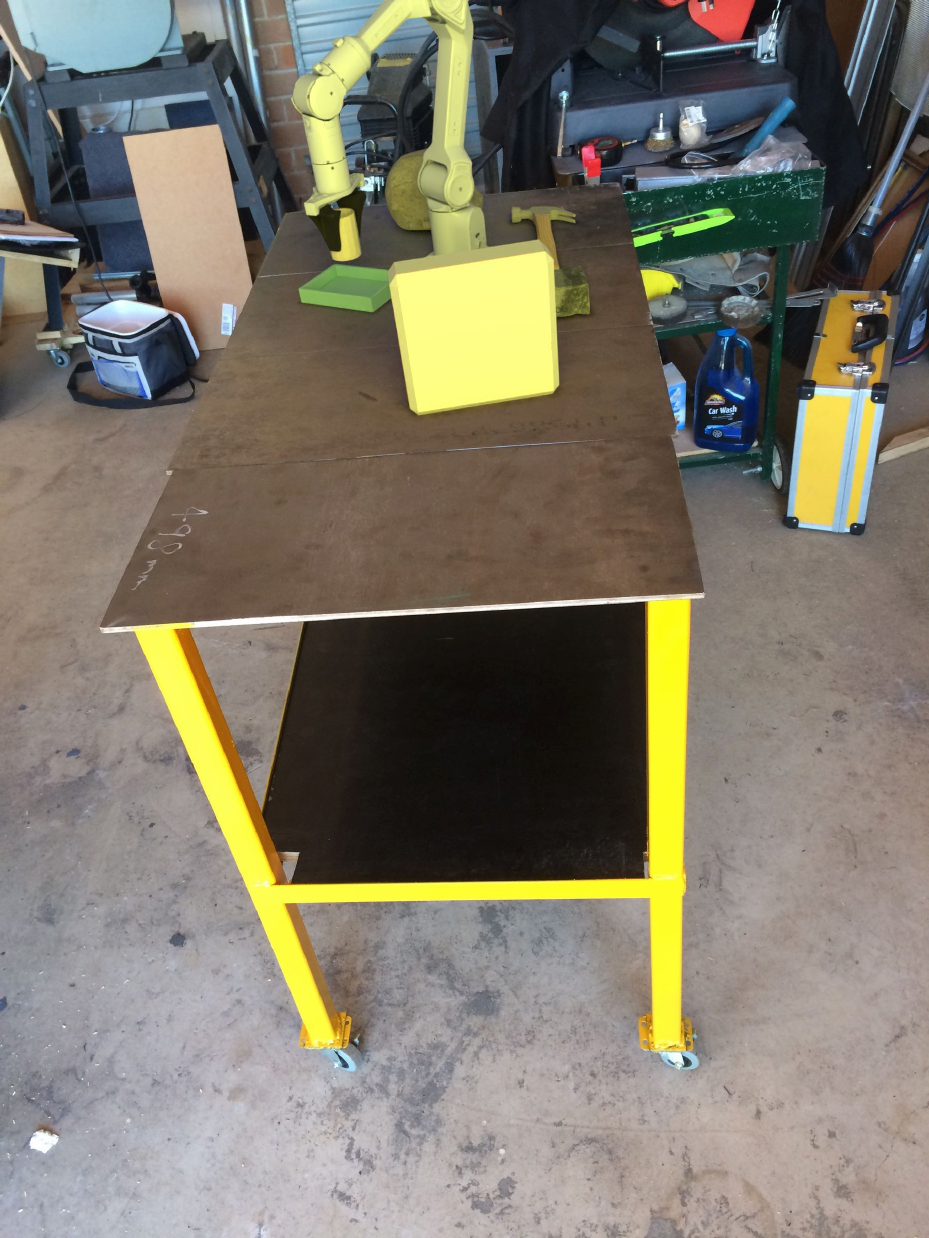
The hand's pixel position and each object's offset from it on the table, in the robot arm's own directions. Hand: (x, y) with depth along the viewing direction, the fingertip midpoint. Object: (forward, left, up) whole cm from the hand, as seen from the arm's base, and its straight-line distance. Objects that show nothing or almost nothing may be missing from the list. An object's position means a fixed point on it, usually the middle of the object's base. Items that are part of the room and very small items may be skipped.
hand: (345, 244), depth 160 cm
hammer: (-25, -27, -9) cm, 38 cm away
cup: (0, 0, -2) cm, 2 cm away
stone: (0, -30, -9) cm, 32 cm away
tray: (-1, +1, -8) cm, 9 cm away
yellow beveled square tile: (-40, +26, -9) cm, 48 cm away
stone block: (-36, -2, -9) cm, 37 cm away
